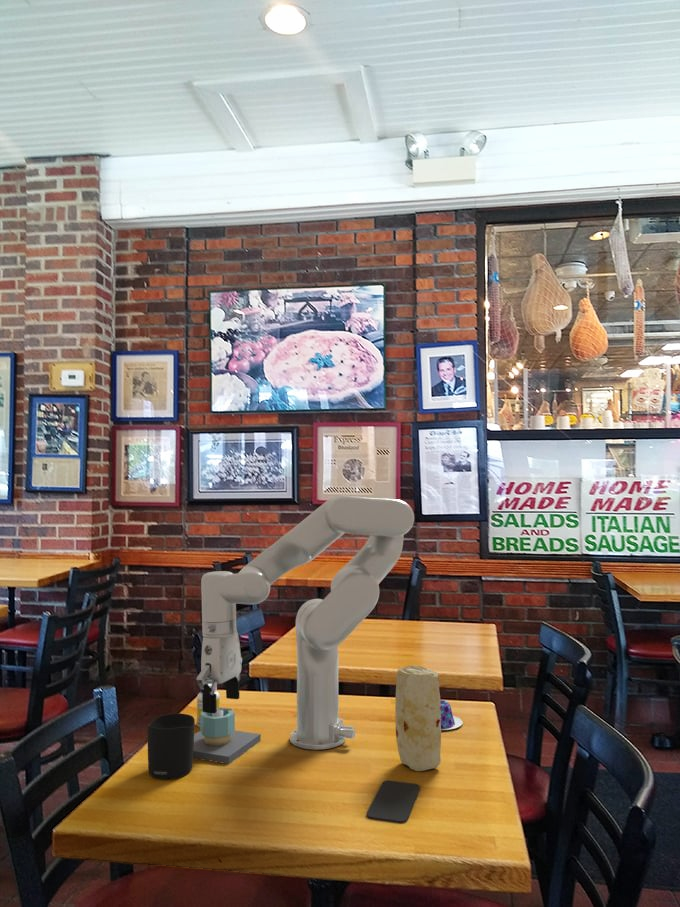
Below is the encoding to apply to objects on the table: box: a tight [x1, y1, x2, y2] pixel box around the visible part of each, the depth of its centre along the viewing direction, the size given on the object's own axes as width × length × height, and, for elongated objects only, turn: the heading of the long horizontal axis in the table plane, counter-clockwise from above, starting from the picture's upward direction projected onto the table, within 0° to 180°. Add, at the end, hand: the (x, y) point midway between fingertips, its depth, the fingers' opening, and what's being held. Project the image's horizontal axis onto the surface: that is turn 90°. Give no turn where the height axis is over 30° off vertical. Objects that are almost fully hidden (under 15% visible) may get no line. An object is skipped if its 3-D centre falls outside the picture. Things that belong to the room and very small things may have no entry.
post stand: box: [193, 709, 262, 765], centre depth 149 cm, size 14×14×8 cm
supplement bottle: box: [196, 684, 221, 728], centre depth 163 cm, size 5×5×10 cm
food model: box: [394, 665, 442, 772], centre depth 139 cm, size 10×7×20 cm
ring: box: [199, 707, 236, 738], centre depth 149 cm, size 7×7×4 cm
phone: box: [365, 779, 421, 824], centre depth 122 cm, size 7×1×15 cm
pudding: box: [440, 699, 464, 731], centre depth 164 cm, size 12×12×5 cm
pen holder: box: [146, 712, 196, 780], centre depth 136 cm, size 9×9×10 cm
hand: (221, 705), depth 149 cm, fingers open, 9 cm apart
